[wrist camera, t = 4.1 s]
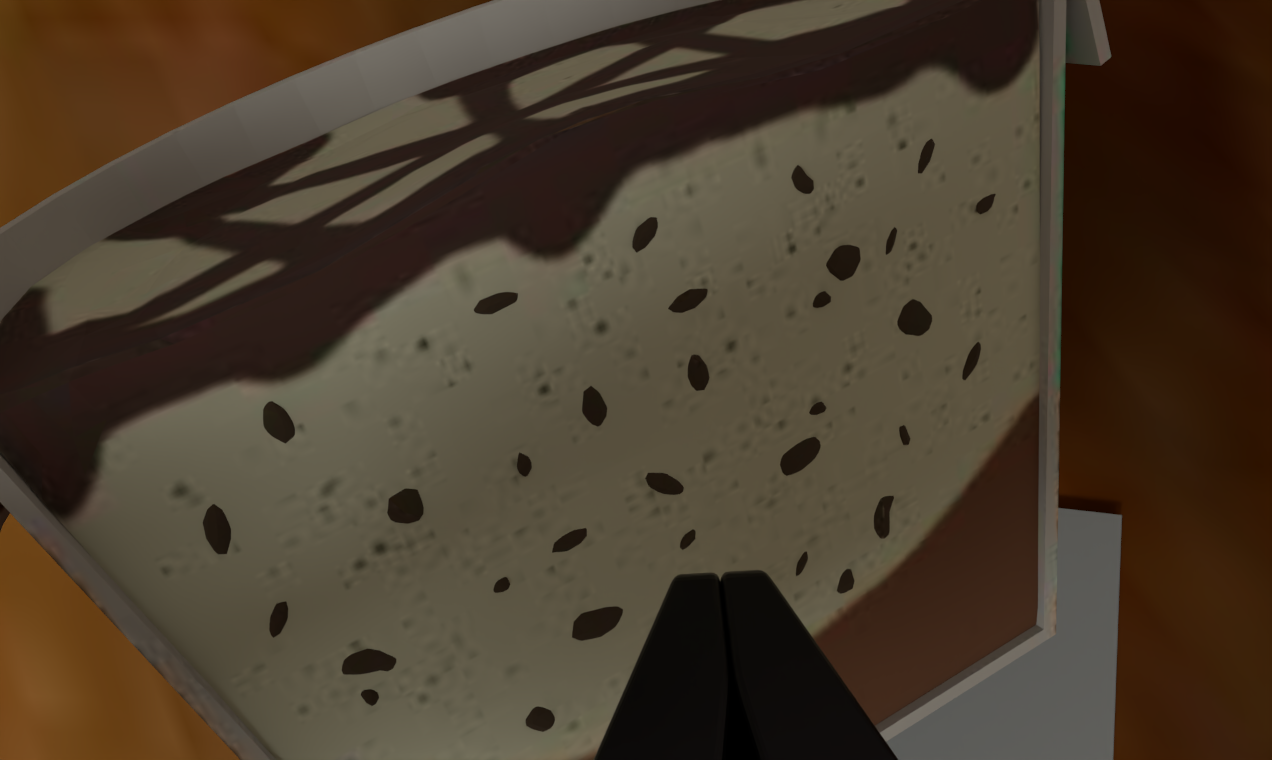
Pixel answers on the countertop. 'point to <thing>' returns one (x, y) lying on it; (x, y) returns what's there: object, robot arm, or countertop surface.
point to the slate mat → (1045, 670)
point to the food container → (560, 364)
